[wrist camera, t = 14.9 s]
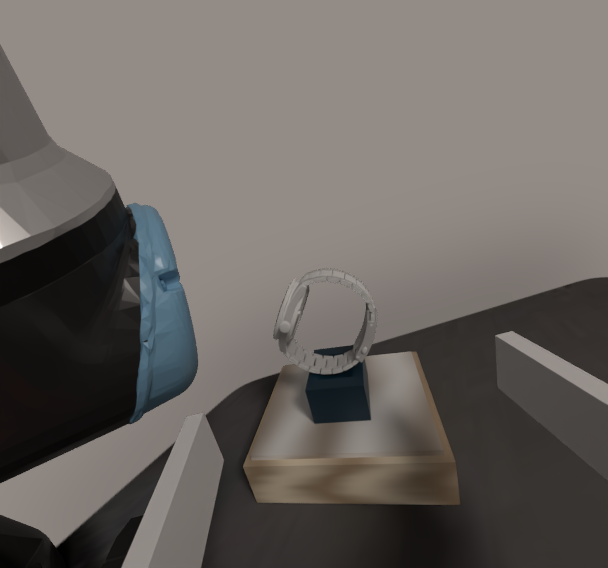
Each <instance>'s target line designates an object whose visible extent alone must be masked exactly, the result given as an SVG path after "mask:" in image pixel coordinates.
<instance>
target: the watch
mask: <svg viewBox="0 0 608 568" xmlns="http://www.w3.org/2000/svg"><path fill="white" fill-rule="evenodd" d="M314 281H315V283H319V282H326V281H328V282H333V283H339V282H340V284H341V285H344V286H346V287H351V288H352V290H354V291H355V292H357V293H358V294H361V297H362V298H363V299H364V300H365V302H366V313H365V318H364V322H363V326H362V329H361V331H360V333H359V335H358V337H357V339H356V341H355V344H354V345H351V346H343V347H335V348H327V349H319V350H314V354H313V355H312V352H310V351H308V350H306V349H303V347H302V346H301V345H300V344H299V343H298V342H296V340H295V339H294V335H295V332H296V330H297V327H298V324H299V321H300V318H301V315H302V312H303V310H304V306H305V303H306V300H307V297H308V293H309V285H310V284H313V283H314ZM376 327H377V311H376V308H374V303H373V299H372V296H371V294H370V293H369V290H368V289H367V287H366V286H365V285H364V284H363V283H362V282H361V281H360V280H359V279H358V278H356V277H355V276H352V275H351V274H349V273H347V272H344V271H341V270H338V269H330V270H329V269H319V270H318V271H317V270H314V271H311V272H308V273H306V274H305V275H304V276H303V277H302V279H301V280H300V281H297V279H293V280H292V282H291V283H290V286H289V288H288V290H287V292H286V294H285V297H284V300H283V302H282V305H281V308H280V311H279V314H278V318H277V321H276V325H275V329H274V335H273V336H274V339H276V340H277V339H279V347H280V351H281V352H283V353H284V354H285V355H286V357H288V358H289V360H290V361H291V362H293V363H294V364H295V365H298V367H300V368H302V369H304V370H306V371H308V370H309V376H308V380H307V384H306V389H305V392H306V396H307V399H308V403H309V406H310V410H311V413H312V417H313V420H314V424H320V423H336V422H352V421H368V420H371V410H370V397H369V383H368V372H367V367H366V362H365V357H366V355H367V354H368V352H369V350H370V348H371V345H372V343H373V340H374V336H375V333H376ZM303 360H304V361H303Z"/></svg>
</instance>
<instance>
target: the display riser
mask: <svg viewBox="0 0 608 568" xmlns="http://www.w3.org/2000/svg"><path fill="white" fill-rule="evenodd" d="M365 362H366V367H367V372H368V383H369V397H370V410H371V420H368V421H352V422H336V423H320V424H314V420H313V417H312V413H311V410H310V406H309V403H308V399H307V396H306V392H305V389H306V384H307V380H308V376H309V370H308V371H306V370H304V369H302V368H300V367H298V365H295V364H292V365H285V366H283V368H282V370H281V372H280V375H279V377H278V380H277V382H276V385H275V387H274V390H273V392H272V395H271V397H270V400H269V403H268V405H267V408H266V410H265V413H264V415H263V418H262V420H261V423H260V425H259V428H258V430H257V433H256V435H255V438H254V440H253V443H252V445H251V448H250V450H249V453H248V455H247V458H246V460H245V463H244V465H243V468H244V471H245V473H246V476H247V478H248V481H249V483H250V486H251V488H252V491H253V493H254V496H255V498H256V501H257V503H333V504H415V505H460V498H459V489H458V480H457V471H456V462H455V460H454V457H453V454H452V451H451V448H450V445H449V443H448V440H447V437H446V434H445V431H444V429H443V426H442V423H441V420H440V417H439V415H438V412H437V409H436V406H435V403H434V400H433V398H432V395H431V392H430V389H429V386H428V384H427V381H426V378H425V375H424V372H423V370H422V367H421V364H420V361H419V358H418V355H417V353H416V352H402V353H393V354H384V355H375V356H366V357H365Z"/></svg>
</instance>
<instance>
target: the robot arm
mask: <svg viewBox="0 0 608 568" xmlns="http://www.w3.org/2000/svg"><path fill="white" fill-rule="evenodd" d="M179 280H180V276H179V272H178V269H177V265H176V259H175V255H174V252H173V249H172V246H171V242H170V239H169V237H168V234H167V231H166V228H165V226H164V223H163V221H162V219H161V217H160V215H159V214H158V211H157V210H156V209H155V208H153V207H151V206H148V205H143V206H141V205H139V204H137V203H133V204H130V205H127V207H126V208H125V207H124V204H123V202H122V200H121V198H120V196H119V193H118V191H117V189H116V186H115V184H114V182H113V180H112V178H111V176H110V175H109V174H108V173H107V172H106V171H105V170H103V169H101V168H99V167H97V166H95V165H94V164H92V163H90V162H88V161H86V160H84V159H82V158H80V157H78V156H76V155H74V154H73V153H71V152H69V151H67V150H65V149H63V148H61V147H59V146H58V145H57V144H56V143H55V142H54V141H53V140H52V138H51V137H50V136H49V135H48V134H47V132H46V130H45V128H44V126H43V125H42V122H41V120H40V119H39V117H38V115H37V113H36V111H35V109H34V107H33V105H32V104H31V102H30V100H29V98H28V96H27V94H26V92H25V90H24V88H23V87H22V85H21V83H20V81H19V79H18V77H17V75H16V73H15V72H14V70H13V68H12V66H11V64H10V62H9V60H8V59H7V56H6V55H5V53H4V51H3V49H2V47H1V45H0V483H2V482H4V481H6V480H8V479H10V478H13V477H15V476H17V475H19V474H21V473H23V472H26V471H28V470H30V469H32V468H34V467H36V466H38V465H41V464H43V463H45V462H47V461H49V460H51V459H53V458H56V457H58V456H60V455H62V454H64V453H66V452H68V451H71V450H73V449H75V448H77V447H79V446H81V445H84V444H86V443H88V442H90V441H92V440H94V439H96V438H98V437H101V436H103V435H105V434H107V433H109V432H111V431H114V430H116V429H118V428H120V427H122V426H124V425H126V424H132V423H134V422H136V421H138V420H139V419H140V418H141V417H142V416H143V414H144V413H146V412H148V411H150V410H152V409H154V408H156V407H157V406H159V405H161V404H163V403H165V402H167V401H168V400H170V399H172V398H174V397H176V396H178V395H180V394H181V393H182V392H184V391H185V390H186V389H187V388H188V387H189V386H190V385H191V383H192V382H193V380H194V378H195V375H196V373H197V367H198V355H197V347H196V340H195V335H194V330H193V325H192V320H191V316H190V311H189V307H188V303H187V299H186V296H185V292H184V289H183V287H182V285H181V283H180V282H179ZM495 340H496V362H497V383H498V388H499V389H500V390H501V391H503V392H504V393H505V394H506V395H507V396H508V397H510V398H511V399H512V400H513V401H514V402H516V403H517V404H518V405H519V406H520V407H521V408H523V409H524V410H525V411H526V412H527V413H529V414H530V415H531V416H532V417H533V418H534V419H536V420H537V421H538V422H539V423H540V424H542V425H543V426H544V427H545V428H546V429H547V430H549V431H550V432H551V433H552V434H553V435H554V436H556V437H557V438H558V439H559V440H560V441H562V442H563V443H564V444H565V445H566V446H567V447H569V448H570V449H571V450H572V451H573V452H575V453H576V454H577V455H578V456H579V457H580V458H582V459H583V460H584V461H585V462H586V463H588V464H589V465H590V466H591V467H592V468H593V469H595V470H596V471H597V472H598V473H599V474H601V475H602V476H603V477H604V478H605V479H606V480H608V384H606V383H605V382H603V381H601V380H599V379H597V378H596V377H594V376H592V375H590V374H588V373H587V372H585V371H583V370H581V369H579V368H578V367H576V366H574V365H572V364H570V363H569V362H567V361H565V360H563V359H561V358H560V357H558V356H556V355H554V354H552V353H551V352H549V351H547V350H545V349H543V348H542V347H540V346H538V345H536V344H534V343H533V342H531V341H529V340H527V339H525V338H523V337H522V336H520V335H518V334H516V333H514V332H513V331H511V332H507V333H503V334H499V335H495ZM223 462H224V459H223V457H222V454H221V452H220V449H219V447H218V445H217V442H216V440H215V438H214V435H213V433H212V431H211V428H210V426H209V423H208V421H207V419H206V416H205V414H204V412H202V413H199V414H194V415H191V416H187V417H186V419H185V421H184V424H183V426H182V428H181V431H180V433H179V435H178V437H177V440H176V442H175V444H174V447H173V449H172V451H171V454H170V456H169V458H168V461H167V463H166V465H165V468H164V470H163V472H162V474H161V477H160V479H159V481H158V484H157V486H156V488H155V491H154V493H153V495H152V498H151V500H150V502H149V505H148V507H147V509H146V512H145V514H144V515H142V516H139V517H135V518H131V519H130V521H129V522H128V523H127V525H126V526H125V527H124V529H123V530H122V531H121V532H120V534H119V535H118V536H117V538H116V540H115V542H114V544H113V546H112V548H111V550H110V552H109V554H108V556H107V558H106V563H105V564H103V566H102V568H201V565H202V560H203V556H204V551H205V546H206V542H207V537H208V532H209V527H210V523H211V518H212V513H213V509H214V504H215V499H216V495H217V490H218V485H219V481H220V476H221V471H222V467H223ZM0 568H66V565H65V562H64V559H63V557H62V555H61V554H60V553H59V551H58V550H57V549H56V547H55V546H54V545H53V543H52V542H51V541H50V539H49V538H48V537H47V536H46V535H45V534H44V533H42V532H41V531H40V530H38V529H36V528H33V527H31V526H28V525H26V524H23V523H20V522H18V521H15V520H12V519H10V518H7V517H4V516H2V515H0Z"/></svg>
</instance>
